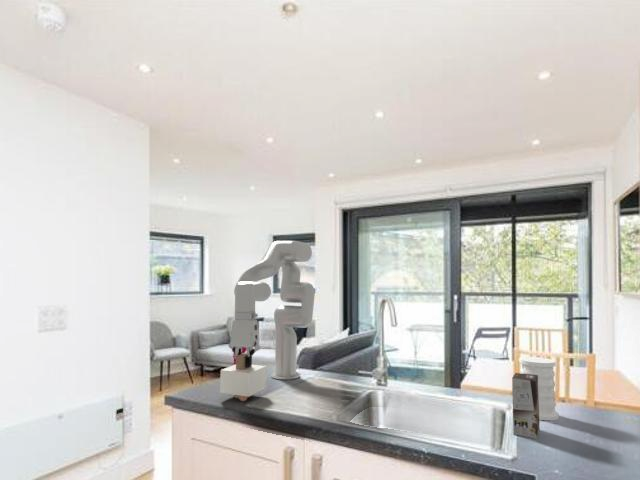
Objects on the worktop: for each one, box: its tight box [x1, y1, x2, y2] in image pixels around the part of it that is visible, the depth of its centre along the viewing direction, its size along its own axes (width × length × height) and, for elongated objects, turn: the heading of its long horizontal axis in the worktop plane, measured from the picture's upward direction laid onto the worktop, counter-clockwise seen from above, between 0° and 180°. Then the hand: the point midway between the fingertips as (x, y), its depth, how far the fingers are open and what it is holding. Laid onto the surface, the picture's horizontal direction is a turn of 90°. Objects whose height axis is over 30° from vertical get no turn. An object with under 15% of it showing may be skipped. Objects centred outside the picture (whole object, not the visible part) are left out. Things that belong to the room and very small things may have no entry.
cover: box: [219, 352, 267, 398], centre depth 153 cm, size 12×12×13 cm
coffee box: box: [511, 372, 540, 440], centre depth 123 cm, size 9×6×16 cm
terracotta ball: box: [238, 395, 248, 402], centre depth 149 cm, size 3×3×3 cm
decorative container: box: [518, 356, 560, 421], centre depth 139 cm, size 12×12×18 cm
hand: (243, 366), depth 154 cm, fingers closed on cover, 3 cm apart
